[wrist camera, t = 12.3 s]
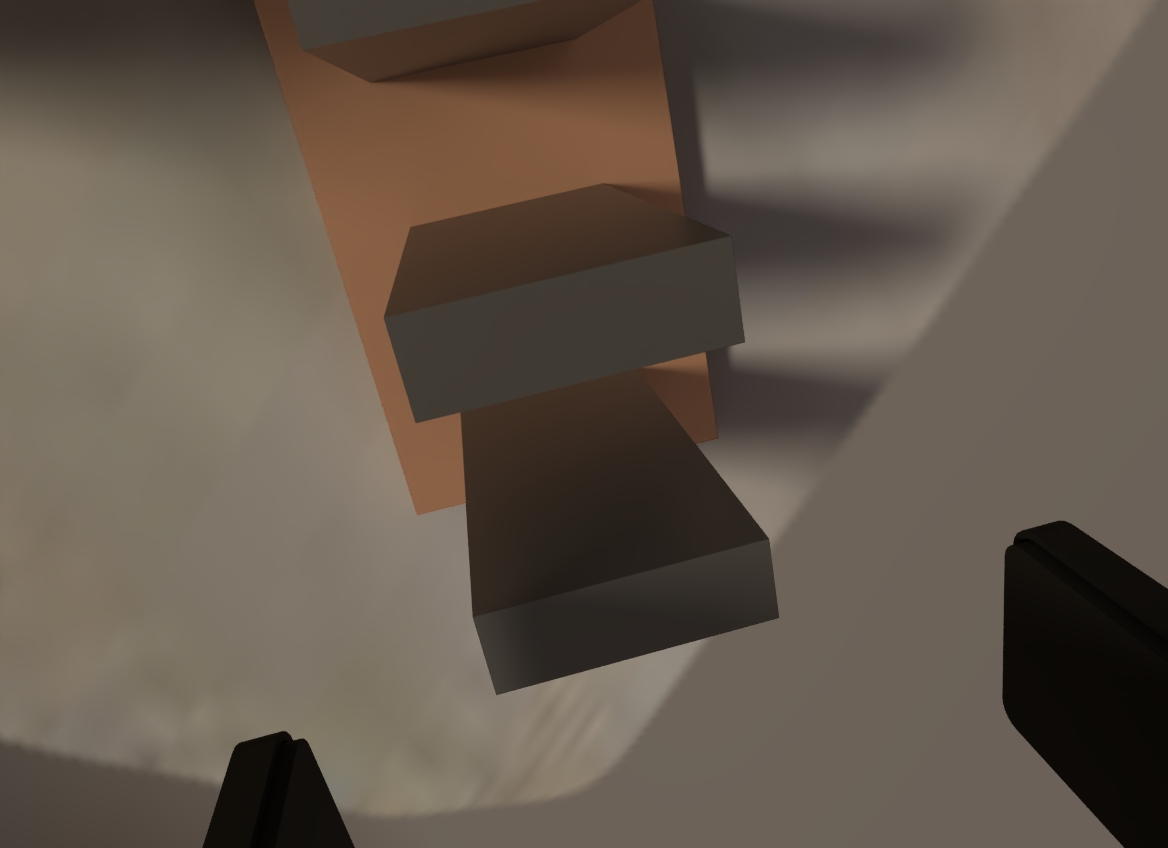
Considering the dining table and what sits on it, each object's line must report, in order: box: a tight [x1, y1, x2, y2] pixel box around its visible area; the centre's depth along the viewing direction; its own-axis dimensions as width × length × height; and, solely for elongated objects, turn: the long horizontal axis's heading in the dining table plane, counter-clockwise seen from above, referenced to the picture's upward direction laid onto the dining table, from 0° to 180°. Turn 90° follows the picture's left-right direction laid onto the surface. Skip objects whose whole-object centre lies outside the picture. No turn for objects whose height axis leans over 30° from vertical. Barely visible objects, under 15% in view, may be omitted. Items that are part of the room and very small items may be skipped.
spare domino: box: [460, 369, 779, 695], centre depth 18 cm, size 2×5×10 cm, turn 101°
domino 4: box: [384, 183, 745, 423], centre depth 16 cm, size 2×5×10 cm, turn 101°
